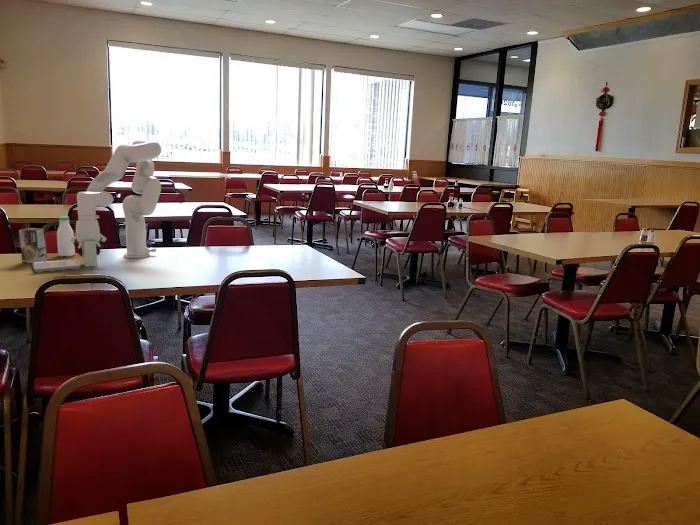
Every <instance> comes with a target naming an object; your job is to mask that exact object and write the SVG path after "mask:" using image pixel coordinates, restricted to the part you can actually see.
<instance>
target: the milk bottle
mask: <svg viewBox="0 0 700 525" xmlns="http://www.w3.org/2000/svg"><path fill="white" fill-rule="evenodd" d="M58 220H59V221H58V222H59V225H58V227H57V231H56V240H57V241H56V242H57V243H56V244H57V255H58V256H59V257H63V256H66V257H72V256H73V255H74V256H75V255H76V249H75V248H76V246H75V245H74V244H73V243H72V242H71V241H70V239H71V238H73V237H74V236H75V234H74V231H73V228H72V226H71V225H70V217H69V216H66V215H65V216H59V217H58ZM74 256H73V257H74Z"/></svg>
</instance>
